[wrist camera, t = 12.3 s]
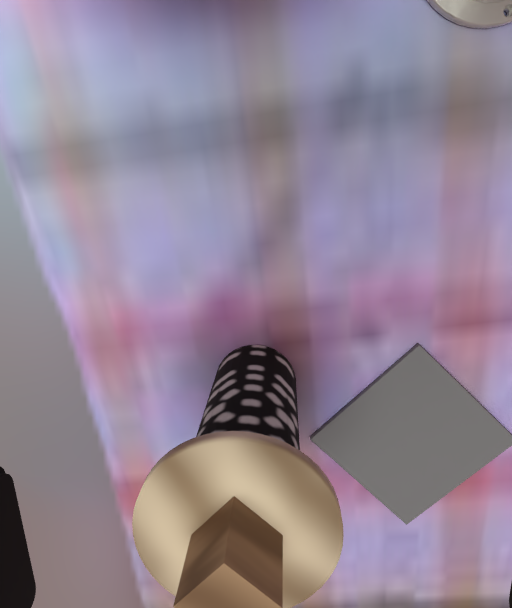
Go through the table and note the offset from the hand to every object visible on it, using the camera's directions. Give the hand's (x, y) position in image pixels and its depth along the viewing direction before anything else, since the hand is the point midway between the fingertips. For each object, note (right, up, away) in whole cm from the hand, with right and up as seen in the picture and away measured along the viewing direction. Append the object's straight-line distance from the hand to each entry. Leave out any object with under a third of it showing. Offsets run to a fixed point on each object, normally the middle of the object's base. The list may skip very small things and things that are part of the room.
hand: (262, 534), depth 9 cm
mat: (+16, -10, +42) cm, 46 cm away
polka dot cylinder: (0, -4, +41) cm, 41 cm away
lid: (-1, -10, +22) cm, 24 cm away
